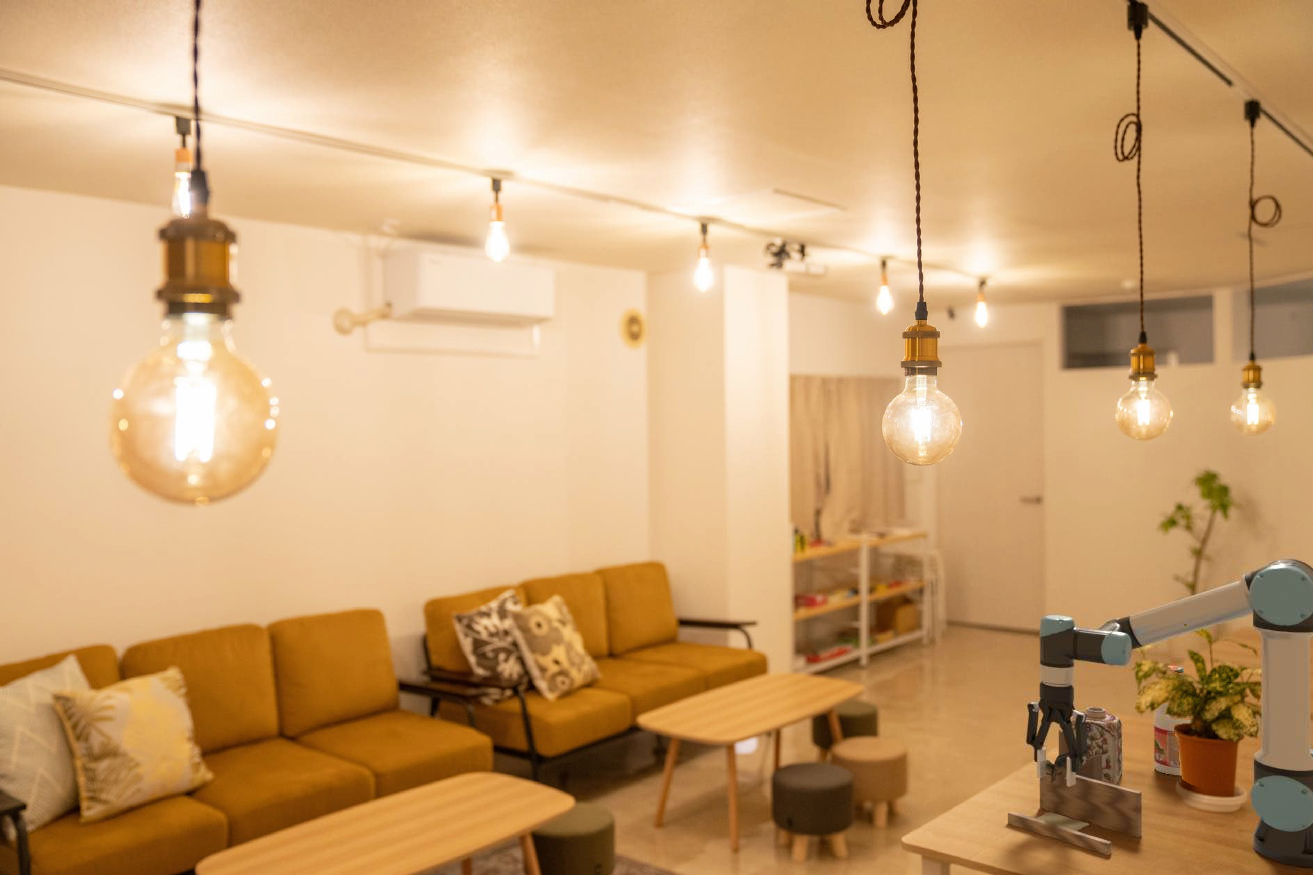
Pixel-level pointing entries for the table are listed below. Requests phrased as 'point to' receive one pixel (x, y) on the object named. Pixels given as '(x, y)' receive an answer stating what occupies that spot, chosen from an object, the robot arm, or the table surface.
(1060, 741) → the wooden block
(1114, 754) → the decorative jar
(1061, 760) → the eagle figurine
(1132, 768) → the table surface
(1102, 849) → the wall board
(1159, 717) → the fruit juice
